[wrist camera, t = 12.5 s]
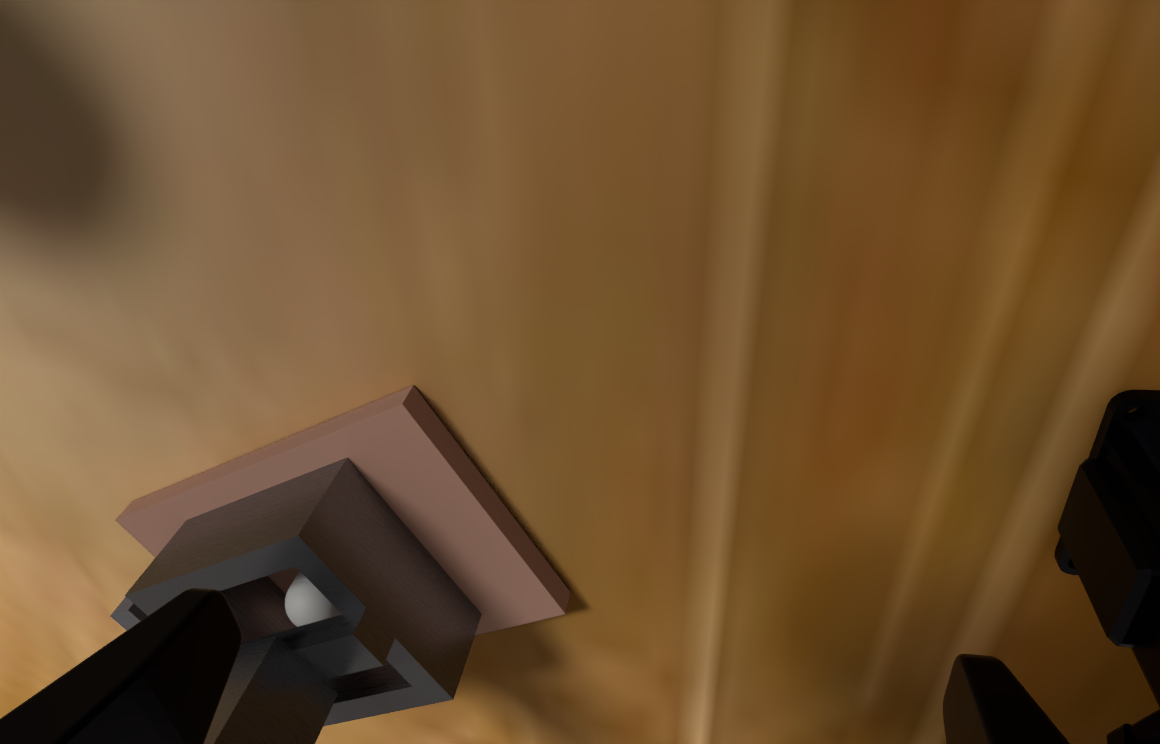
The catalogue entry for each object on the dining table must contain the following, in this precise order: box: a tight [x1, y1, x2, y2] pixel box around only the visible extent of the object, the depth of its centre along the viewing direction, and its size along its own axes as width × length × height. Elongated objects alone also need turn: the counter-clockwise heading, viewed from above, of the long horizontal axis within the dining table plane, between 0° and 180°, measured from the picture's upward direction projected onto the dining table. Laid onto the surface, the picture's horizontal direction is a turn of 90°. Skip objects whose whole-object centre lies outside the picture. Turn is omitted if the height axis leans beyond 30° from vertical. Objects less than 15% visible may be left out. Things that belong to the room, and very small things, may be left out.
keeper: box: [111, 385, 570, 636], centre depth 28 cm, size 14×10×4 cm
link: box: [125, 457, 482, 744], centre depth 23 cm, size 8×8×13 cm
